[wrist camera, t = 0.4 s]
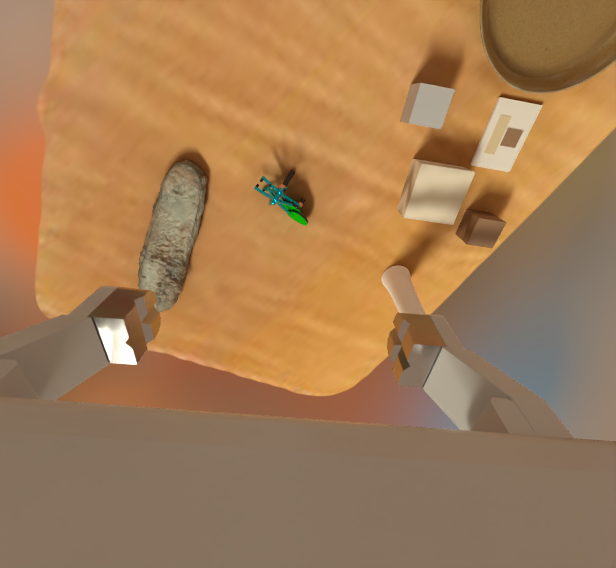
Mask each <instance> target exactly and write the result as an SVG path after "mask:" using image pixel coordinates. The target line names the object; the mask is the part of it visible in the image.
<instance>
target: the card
mask: <svg viewBox="0 0 616 568" xmlns="http://www.w3.org/2000/svg"><path fill="white" fill-rule="evenodd" d="M542 106H543V105H538V104H533V103H528V102H522V101H517V100H512V99H507V98H502V97H499V98H498V100H497V102H496V105H495V107H494V109H493V112H492V114H491V116H490V119H489V121H488V123H487V126H486V128H485V130H484V133H483V135H482V137H481V140H480V142H479V144H478V147H477V149H476V151H475V154H474V156H473V158H472V161H471V163H470V165H472V166H478V167H483V168H489V169H495V170H500V171H506V172H509V171H510V169H511V168H512V166H513V164H514V162H515V160H516V158H517V156H518V154H519V152H520V150H521V148H522V146H523V144H524V142H525V140H526V138H527V136H528V134H529V132H530V130H531V128H532V126H533V124H534V122H535V120H536V118H537V116H538V114H539V112H540V110H541V108H542Z"/></svg>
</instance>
